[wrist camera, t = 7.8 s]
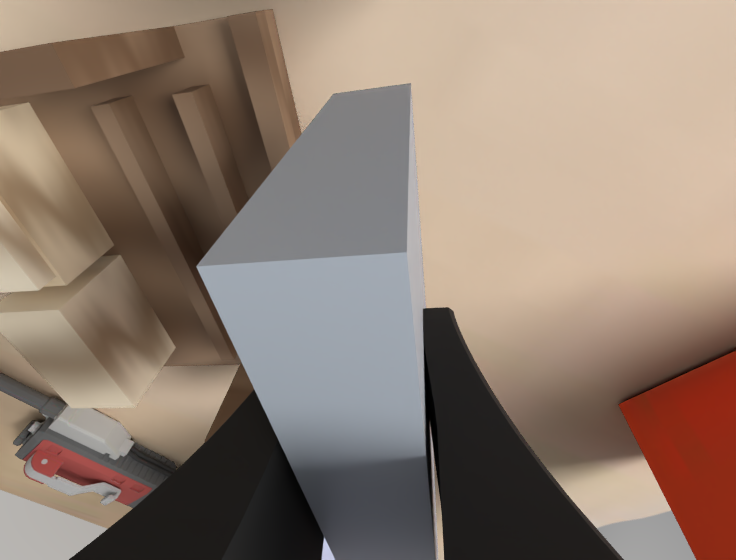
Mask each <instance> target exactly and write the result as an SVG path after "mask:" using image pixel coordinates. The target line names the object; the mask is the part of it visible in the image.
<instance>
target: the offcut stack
mask: <svg viewBox="0 0 736 560" xmlns="http://www.w3.org/2000/svg"><path fill="white" fill-rule="evenodd" d="M113 246H114V244H113V242H112V240H111V239H110V237H109V235H108V234H107V232H106V230H105V229H104V227H103V225H102V224H101V222H100V220H99V219H98V217H97V215H96V214H95V212H94V210H93V209H92V207H91V205H90V204H89V202H88V200H87V199H86V197H85V195H84V194H83V192H82V190H81V189H80V187H79V185H78V184H77V182H76V180H75V179H74V177H73V175H72V174H71V172H70V170H69V169H68V167H67V165H66V164H65V162H64V160H63V159H62V157H61V155H60V154H59V152H58V150H57V149H56V147H55V145H54V144H53V142H52V140H51V139H50V137H49V135H48V134H47V132H46V130H45V129H44V127H43V125H42V124H41V122H40V120H39V118H38V117H37V115H36V113H35V112H34V110H33V108H32V107H31V105H30V103H29V102H28V103H22V104H15V105H9V106H2V107H0V293H5V292H12V293H10V294H9V295H8V296H6V297H5V298H4V299H2V300H1V301H0V333H1V334H2V335H3V336H4V337H5V338H6V339H7V340H8V341H9V342H10V343H11V344H12V345H13V346H14V347H15V349H16V350H17V351H18V352H19V353H20V354H21V355H22V356H23V357H24V358H25V359H26V360H27V361H28V362H29V363H30V365H31V366H32V367H33V368H34V369H35V370H36V371H37V372H38V373H39V374H40V375H41V376H42V377H43V378H44V379H45V381H46V382H47V383H48V384H49V385H50V386H51V387H52V388H53V389H54V390H55V391H56V392H57V393H58V394H59V395H60V397H61V398H62V399H63V400H64V401H65V402H66V403H67V404H68V405H69V406H70V407H71V408H136V406H137V405H138V403H139V402H140V400H141V399H142V397H143V396H144V394H145V393H146V391H147V390H148V388H149V387H150V385H151V384H152V382H153V381H154V379H155V378H156V376H157V375H158V373H159V372H160V370H161V369H162V367H163V366H164V364H165V363H166V361H167V360H168V358H169V357H170V355H171V354H172V352H173V351H174V349H175V348H176V347H175V345H174V344H173V342H172V340H171V339H170V337H169V335H168V334H167V332H166V330H165V329H164V327H163V325H162V324H161V322H160V320H159V319H158V317H157V315H156V314H155V312H154V310H153V309H152V307H151V305H150V304H149V302H148V300H147V299H146V297H145V295H144V294H143V292H142V290H141V289H140V287H139V285H138V284H137V282H136V280H135V279H134V277H133V275H132V274H131V272H130V270H129V269H128V267H127V265H126V264H125V262H124V260H123V259H122V257H121V255H111V256H102V255H103V254H105V253H106V252H107V251H108V250H109V249H111V248H112V247H113Z"/></svg>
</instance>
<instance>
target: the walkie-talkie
mask: <svg viewBox="0 0 736 560" xmlns="http://www.w3.org/2000/svg"><path fill="white" fill-rule="evenodd" d="M0 391H2V392H4V393H6V394H8V395H10V396H12V397H14V398H16V399H18V400H20V401H22V402H24V403H26V404H28V405H30V406H32V407H34V408H37V409H39V412H40V413H42V415H43V416H45V417H46V420H45V421H44V422H42V423H40V422H38V421H31V422H30V424H29V425H28V426H27V427H26V428H25V429H24V430H23V431H22V432H21V434H20V435H19V436H18V437H17V438H16V439H15V440H14V442H13V444H14V445H17V446H18V445H21V443H22V444H23V446H22V447H21V448H20V449H19V450H18V452H17V453H16V454H15V456H17V457H18V458H19V459H22V460H24V461H27V462H26V463H25V465H24V474H25V475H26V477H28V478H29V479H31V480H34V481H36V482H39V483H41V484H44V483H45V484H47V485H48V487H51V488H53V489H55V490H58V491H60V492H62V493H65V494H67V495H70V496H71V495H76V494H81V493H86V492H92V491H93V492H96V493H98V494H100V495H102V496H105V498H104V499H102V500H101V502H100V503H102V504H103V505H107V504H109V503H111V502H112V501H114V500H116V501H118V502H120V503H123V504H125V505H127V506H130V507H132V508H134V507H135V506H137V505H138V504H139V503H140V502H141V501H142V500H143V499H145V498H146V497H147V496H148V495H149V494H150V493H151V492H152V491H154V490H155V489H156V488H157V487H158V486H159V485H160V484H162V483H163V482H164V481H165V480H166V479H167V478H168V477H169V476H171V475H172V474H173V473H174V472H175V471H176V470H175V469H176V465H175V463H174V462H172V461H170V460H169V459H166V458H164V457H163V456H160V455H159V454H156V453H154V452H153V451H150V450H148V449H147V448H144V447H143V446H140V445H138V444H137V443H134V442H133V441H131V440H130V439H131V435H130V434H129V433H128V432H127V430H126V429H125V428H124V427H123V426H122V424H121V423H120V422H118V421H116V420H114V419H112V418H111V417H109V416H107V415H105V414H103V413H101V412H99V411H97V410H95V409H93V408H71V407H70V406H69V405H68V404H66V403H64V402H62V401H60V400H58V399H56V398H54V397H51V398H49V397H48V396H46V395H44V394H42V393H40V392H38V391H36V390H34V389H32V388H30V387H28V386H26V385H24V384H22V383H20V382H18V381H16V380H14V379H12V378H11V377H9V376H7V375H5V374H3V373H0ZM54 474H56V475H59V476H61V477H63V478H65V479H68V480H70V481H72V482H75V483H77V484H79V485H82V486H79V485H77V484H75V483H72V482H70V481H68V480H65V479H63V478H61V477H55V476H54Z"/></svg>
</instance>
